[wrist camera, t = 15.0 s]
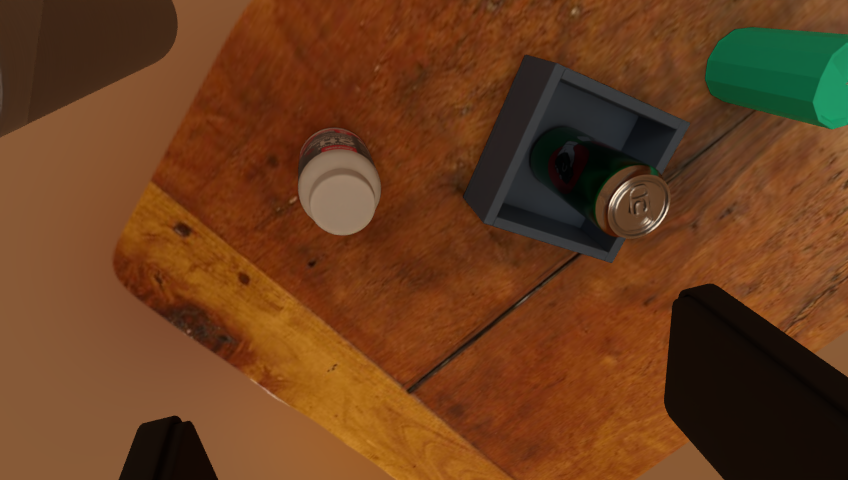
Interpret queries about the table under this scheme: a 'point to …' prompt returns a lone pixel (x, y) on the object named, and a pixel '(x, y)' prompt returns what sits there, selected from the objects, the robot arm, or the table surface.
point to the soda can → (601, 182)
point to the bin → (538, 114)
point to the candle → (783, 74)
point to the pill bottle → (338, 181)
